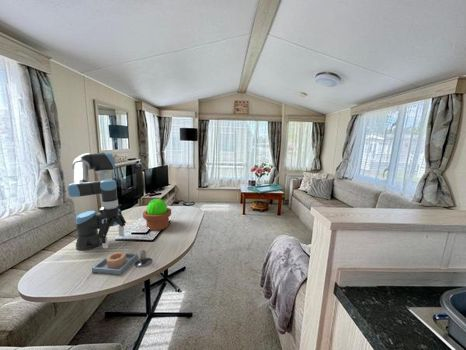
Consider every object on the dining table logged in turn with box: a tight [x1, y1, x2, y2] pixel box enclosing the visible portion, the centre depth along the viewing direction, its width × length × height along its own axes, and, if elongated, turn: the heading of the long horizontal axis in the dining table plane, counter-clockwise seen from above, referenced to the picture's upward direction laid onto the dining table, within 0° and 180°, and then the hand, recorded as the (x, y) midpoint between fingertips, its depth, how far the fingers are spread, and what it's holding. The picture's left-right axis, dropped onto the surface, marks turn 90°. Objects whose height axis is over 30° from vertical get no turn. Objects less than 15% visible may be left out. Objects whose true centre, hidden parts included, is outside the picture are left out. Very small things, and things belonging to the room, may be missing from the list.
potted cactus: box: [142, 197, 172, 231], centre depth 175 cm, size 22×22×25 cm
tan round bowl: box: [106, 251, 126, 269], centre depth 123 cm, size 10×10×5 cm
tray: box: [91, 251, 139, 276], centre depth 123 cm, size 17×17×3 cm
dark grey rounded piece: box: [134, 250, 153, 269], centre depth 125 cm, size 10×10×8 cm
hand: (114, 241), depth 121 cm, fingers open, 13 cm apart
